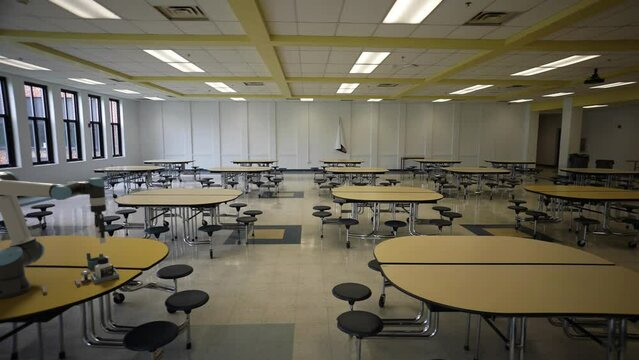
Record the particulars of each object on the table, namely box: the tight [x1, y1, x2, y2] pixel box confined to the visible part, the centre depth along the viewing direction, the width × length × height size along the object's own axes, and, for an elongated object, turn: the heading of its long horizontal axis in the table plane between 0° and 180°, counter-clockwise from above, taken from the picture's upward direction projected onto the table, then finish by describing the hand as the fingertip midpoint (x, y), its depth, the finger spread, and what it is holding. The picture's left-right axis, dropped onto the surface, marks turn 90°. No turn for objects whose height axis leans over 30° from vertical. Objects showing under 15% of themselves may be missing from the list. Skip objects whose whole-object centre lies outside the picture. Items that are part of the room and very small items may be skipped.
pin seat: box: [42, 277, 82, 296], centre depth 187 cm, size 16×10×2 cm, turn 131°
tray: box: [90, 267, 120, 285], centre depth 200 cm, size 12×12×2 cm
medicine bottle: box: [94, 255, 114, 278], centre depth 199 cm, size 7×7×12 cm
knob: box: [80, 269, 92, 283], centre depth 196 cm, size 5×5×6 cm
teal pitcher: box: [85, 252, 104, 270], centre depth 217 cm, size 9×9×9 cm
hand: (100, 240), depth 197 cm, fingers open, 13 cm apart
